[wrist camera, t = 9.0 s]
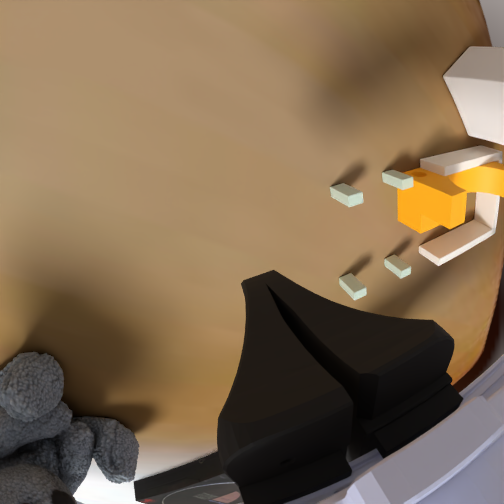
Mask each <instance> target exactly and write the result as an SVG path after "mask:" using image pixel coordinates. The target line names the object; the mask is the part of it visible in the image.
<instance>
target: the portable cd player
mask: <svg viewBox="0 0 504 504" xmlns="http://www.w3.org/2000/svg"><path fill="white" fill-rule="evenodd" d="M134 489H135V498H136V501H138V502H141V503H145V504H238V503H242V502H243V499H242V496H241V493H240V490H239V487H238V486H237V485H236V484H235V483H234V482H233V481H232V480H231V479H230V478H229V477H228V476H227V475H226V474H225V473H224V471H223V468H222V465H221V462H220V458H219V454H218V452H215V453H213V454H211V455H208V456H206V457H203V458H201V459H198V460H196V461H193V462H191V463H188V464H186V465H183V466H180V467H177V468H175V469H172V470H169V471H166V472H163V473H160V474H157V475H154V476H151V477H148V478H145V479H141V480H138V481H134Z"/></svg>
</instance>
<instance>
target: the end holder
mask: <svg viewBox="0 0 504 504" xmlns="http://www.w3.org/2000/svg"><path fill="white" fill-rule="evenodd" d="M493 161H495V162H498V163H501V164H502V151H499V150H496V149H492V148H489V147H486V146H482V145H480V146H475V147H471V148H466V149H462V150H457V151H453V152H448V153H444V154H440V155H436V156H431V157H427V158H423V159H420V168H422V169H425V170H428V171H431V172H434V173H437V174H439V175H442V176H448V175H451V174H454V173H457V172H461V171H464V170H467V169H470V168H474V167H477V166H480V165H484V164H487V163H490V162H493ZM499 199H500V196H498V195H494V194H490V193H483V192H476V206H475V216H474V220H472V221H470V222H468V223H466V224H464V225H462V226H460V227H458V228H456V229H454V230H452V231H449V232H447V233H445V234H443V235H441V236H439V237H437V238H435V239H433V240H431V241H428V242H426V243H424V244H422V245H420V246H419V253H420V254H421V255H423V256H424V257H426V258H427V259H429V260H430V261H432V262H433V263H435V264H436V265H438V266H440V265H442V264H443V263H445V262H447V261H449V260H451V259H452V258H454V257H456V256H458V255H460V254H461V253H463V252H465V251H466V250H468V249H470V248H472V247H473V246H475V245H477V244H478V243H480V242H482V241H483V240H485V239H487V238H488V237H490V236H492V235H493V234H495V230H496V223H497V216H498V208H499Z"/></svg>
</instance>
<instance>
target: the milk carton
mask: <svg viewBox="0 0 504 504" xmlns="http://www.w3.org/2000/svg"><path fill="white" fill-rule="evenodd" d="M443 78H444V80H445V82H446V84H447V86H448V88H449V91H450V93H451V95H452V97H453V99H454V102H455V104H456V106H457V108H458V111H459V113H460V116H461V118H462V120H463V123H464V125H465V128H466V131H467V133H468V135H469V136H473V137H476V138H480V139H484V140H488V141H491V142H495V143H498V144H502V145H504V48H503V47H477V46H471V47H469V48H468V49H467V50H466V51H465V52H464V53H463V54H462V55H461V57H460V58H459V59H458V60H457V61H456V62H455V63H454V64H453V65H452V66H451V68H450V69H449V70H448V71H447V72H446V73H445V74H444V75H443Z"/></svg>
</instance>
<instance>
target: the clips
mask: <svg viewBox="0 0 504 504" xmlns="http://www.w3.org/2000/svg"><path fill="white" fill-rule="evenodd" d="M382 178H383V182H385V183H387V184H389V185H392V186H394V187H397V188H399V189H401V190H405V189H408V188H411V187H413V177H412V176H409V175H407V174H404V173H401V172H398V171H396V170H389V171H385V172H382ZM385 267H387V268H388V269H389V270H391V271H392V272H393V273H394V274H396V275H397V276H398V277H399V278H403V277H405V276H407V275H409V274H411V266H410V265H408V264H407V263H406V262H404V261H403V260H402V259H400V258H399V257H397V256H396V255H395V254H394V255H392V256H389V257H387V258H385Z"/></svg>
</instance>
